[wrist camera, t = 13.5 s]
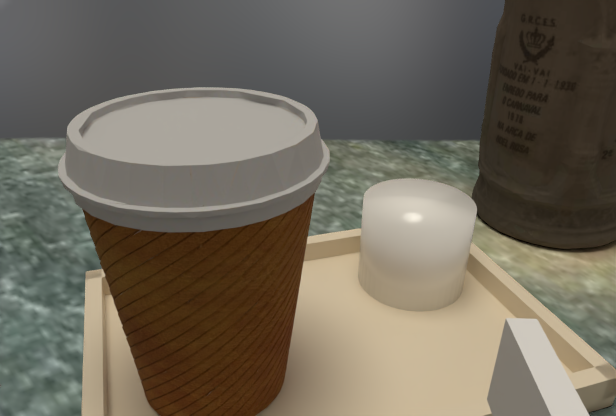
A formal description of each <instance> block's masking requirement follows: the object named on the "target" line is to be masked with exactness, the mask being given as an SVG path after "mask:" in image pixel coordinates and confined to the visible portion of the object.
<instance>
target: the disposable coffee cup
mask: <svg viewBox="0 0 616 416" xmlns="http://www.w3.org/2000/svg"><path fill="white" fill-rule="evenodd" d="M328 165H329V149H328V148H327V146H326V145H325V143H324V141H323V140H322V139H321V138H320V132H319V126H318V121H317V118H316V117H315V115H314V113H313V111H311V110H310V109H309V108H308V107H306V106H305V105H303V104H300V103H298V102H296V101H293V100H291V99H289V98H286V97H283V96H279V95H275V94H271V93H266V92H260V91H253V90H245V89H235V88H203V87H200V88H199V87H198V88H181V89H168V90H159V91H151V92H146V93H140V94H135V95H129V96H125V97H121V98H116V99H113V100H110V101H107V102H104V103H101V104H99V105H96V106H94V107H91V108H89V109H87V110H85V111H84V112H82V113H80V114H78V115H77V116H76V117H75V118H74V119H73V120H72V121H71V122H70V124H69V125H68V128H67V141H66V152H65V153H64V155H63V156H62V158H61V159H60V161H59V165H58V174H59V177H60V180H61V182H62V184H63V186H64V188H65V189H67V190H68V191H69V192H70V193H71V194H72V195H73V197H74V200H75V202H76V204H77V205H78V206H80V207H81V208H82V209H83V212H84V215H85V220H86V222H87V225H88V227H89V230H90V235H91V237H92V239H93V242H94V244H95V246H96V248H95V249H96V252H97V254H98V256H99V259H100V260H101V262H100V264H101V266H102V269H103V271H104V274H105V278H106V281H107V283H108V286H109V288H110V289H109V290H110V293H111V295H112V297H113V300H114V304H115V307H116V309H117V312H118V316H119V319H120V321H121V324H122V325H123V326H122V329H123V331H124V333H125V335H126V340H127V342H128V345H129V347H130V348H131V349H130V351H131V354H132V356H133V359H135V360H134V363H135V365H136V368H137V370H138V371H137V372H138V374H139V377H140V380H141V383H142V386H143V389H144V393H145V396H146V399H147V401H148V403H149V405H150V406H151V407H152V408H153V409H154V410H155V411H156V412H157V413H158V414H159V415H160V416H256V415H257V414H258V413H260V412H261V411H263V410H264V409H265V408H267V407H268V406H269V405H270V404H271V403H272V402H273V400H274V399H275V398H276V397H277V395H278V394H279V392H280V391H281V388H282V386H283V383H284V379H285V373H286V368H287V361H288V355H289V348H290V343H291V336H292V330H293V324H294V318H295V312H296V306H297V299H298V293H299V287H300V281H301V274H302V268H303V262H304V256H305V250H306V244H307V237H308V231H309V225H310V219H311V213H312V207H313V201H314V194H315V192H316V190H317V188H318V186H319V184H320V182H321V179H322V176H323V175H324V174H325V173H326V171H327V168H328Z"/></svg>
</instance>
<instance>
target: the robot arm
mask: <svg viewBox="0 0 616 416" xmlns="http://www.w3.org/2000/svg"><path fill="white" fill-rule="evenodd" d="M0 386H1V385H0ZM487 401H488V404H489V407H490V410H491V413H492V415H493V416H589V414H588V412H587V410H586V408H585V406H584V404H583V403H582V401H581V399H580V397H579V395H578V393H577V392H576V390H575V388H574V386H573V384H572V382H571V380H570V379H569V377H568V375H567V373H566V371H565V369H564V368H563V366H562V364H561V362H560V360H559V358H558V356H557V355H556V353H555V351H554V349H553V347H552V345H551V344H550V342H549V340H548V338H547V336H546V334H545V332H544V331H543V329H542V327H541V325H540V323H539V321H538V320H537V319H525V318H506V319H505V324H504V328H503V332H502V337H501V341H500V345H499V349H498V354H497V358H496V362H495V366H494V371H493V375H492V379H491V383H490V388H489V392H488V396H487Z"/></svg>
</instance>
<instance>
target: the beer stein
mask: <svg viewBox="0 0 616 416" xmlns="http://www.w3.org/2000/svg"><path fill="white" fill-rule="evenodd" d="M478 166H479V169H480V174H479V177H478V179H477V182H476V184H475V186H474V189H473V193H472V200H473V201H474V202H475V204H476V206H477V214H478V215H479V216H480V217H481V219H482V220H484V221H485V222H486V223H487V224H488V225H490V226H491V227H493V228H495V229H496V230H498V231H500V232H502V233H504V234H507V235H509V236H512V237H514V238H516V239H520V240H523V241H526V242H530V243H533V244H537V245H542V246H546V247H554V248H563V249H572V248H588V247H597V246H601V245H605V244H608V243H610V242H612V241H615V240H616V0H505V6H504V12H503V15H502V17H501V20H500V22H499V24H498V27H497V31H496V38H495V43H494V48H493V52H492V61H491V70H490V77H489V83H488V90H487V97H486V104H485V112H484V119H483V124H482V134H481V138H480V151H479V162H478Z"/></svg>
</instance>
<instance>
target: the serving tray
mask: <svg viewBox="0 0 616 416" xmlns="http://www.w3.org/2000/svg"><path fill="white" fill-rule="evenodd" d="M360 239H361V228H360V229H353V230H347V231H340V232H334V233H328V234H321V235H315V236H309V237H307V244H306V250H305V256H304V262H303V268H302V274H301V281H300V287H299V293H298V299H297V306H296V312H295V318H294V324H293V330H292V336H291V343H290V348H289V355H288V361H287V368H286V373H285V379H284V383H283V386H282V388H281V391H280V392H279V394H278V395H277V397H276V398H275V399H274V400H273V402H272V403H271V404H270V405H269V406H268V407H267V408H265V409H264V410H263V411H261V412H260V413H258V414H257V415H256V416H493V415H492V413H491V410H490V407H489V404H488V401H487V396H488V392H489V388H490V383H491V379H492V375H493V371H494V366H495V362H496V358H497V354H498V349H499V345H500V341H501V337H502V332H503V328H504V324H505V319H506V318H525V319H537V320H538V321H539V323H540V325H541V327H542V329H543V331H544V332H545V334H546V336H547V338H548V340H549V342H550V344H551V345H552V347H553V349H554V351H555V353H556V355H557V356H558V358H559V360H560V362H561V364H562V366H563V368H564V369H565V371H566V373H567V375H568V377H569V379H570V380H571V382H572V384H573V386H574V388H575V390H576V392H577V393H578V395H579V397H580V399H581V401H582V403H583V404H584V406H585V408H586V410H587V412H588V413H589V412H592V411H596V410H599V409H602V408H605V407H609V406H612V404H613V401H614V398H615V396H616V369H615V368H614V367H613V366H612V365H611V364H609V363H608V362H607V361H606V360H605V359H604V358H603V357H601V356H600V355H599V354H598V353H597V352H596V351H595V350H594V349H592V348H591V347H590V346H589V345H588V344H587V343H586V342H584V341H583V340H582V339H581V338H580V337H579V336H578V335H577V334H575V333H574V332H573V331H572V330H571V329H570V328H569V327H567V326H566V325H565V324H564V323H563V322H562V321H561V320H560V319H558V318H557V317H556V316H555V315H554V314H553V313H552V312H550V311H549V310H548V309H547V308H546V307H545V306H544V305H543V304H541V303H540V302H539V301H538V300H537V299H536V298H535V297H533V296H532V295H531V294H530V293H529V292H528V291H527V290H526V289H524V288H523V287H522V286H521V285H520V284H519V283H518V282H516V281H515V280H514V279H513V278H512V277H511V276H510V275H509V274H507V273H506V272H505V271H504V270H503V269H502V268H501V267H499V266H498V265H497V264H496V263H495V262H494V261H493V260H492V259H490V258H489V257H488V256H487V255H486V254H485V253H484V252H482V251H481V250H480V249H479V248H478V247H477V246H476V245H475V244H473V243H472V242H471V247H470V252H469V258H468V263H467V269H466V274H465V279H464V285H463V290H462V293H461V295H460V297H459V298H458V299H457V300H456V301H455V302H454V303H452V304H451V305H449V306H447V307H444V308H441V309H437V310H432V311H407V310H402V309H397V308H394V307H391V306H388V305H385V304H383V303H381V302H379V301H377V300H375V299H374V298H372V297H371V296H370V295H368V294H367V293H366V292H365V291H364V289H363V288H362V287H361V285H360V283H359V280H358V266H359V252H360ZM109 289H110V288H109V286H108V283H107V281H106V278H105V274H104V271H103V269H99V270H93V271H86V285H85V319H84V353H83V387H82V416H160V415H159V414H158V413H157V412H156V411H155V410H154V409H153V408H152V407H151V406H150V405H149V403H148V401H147V399H146V396H145V393H144V389H143V386H142V383H141V380H140V377H139V374H138V372H137V371H138V370H137V368H136V365H135V363H134V360H135V359H133V356H132V354H131V351H130V349H131V348H130V347H129V345H128V342H127V340H126V335H125V333H124V331H123V329H122V326H123V325H122V324H121V321H120V319H119V316H118V312H117V309H116V307H115V304H114V300H113V297H112V295H111V293H110V290H109Z"/></svg>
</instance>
